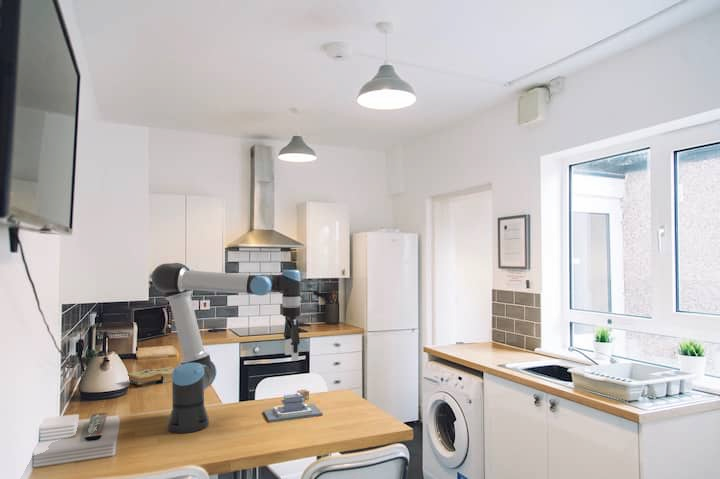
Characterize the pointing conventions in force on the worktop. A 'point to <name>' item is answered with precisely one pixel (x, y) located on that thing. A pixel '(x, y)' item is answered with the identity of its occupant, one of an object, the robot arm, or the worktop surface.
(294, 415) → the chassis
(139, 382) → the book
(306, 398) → the oak block
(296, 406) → the servo block
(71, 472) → the worktop surface
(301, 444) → the worktop surface
